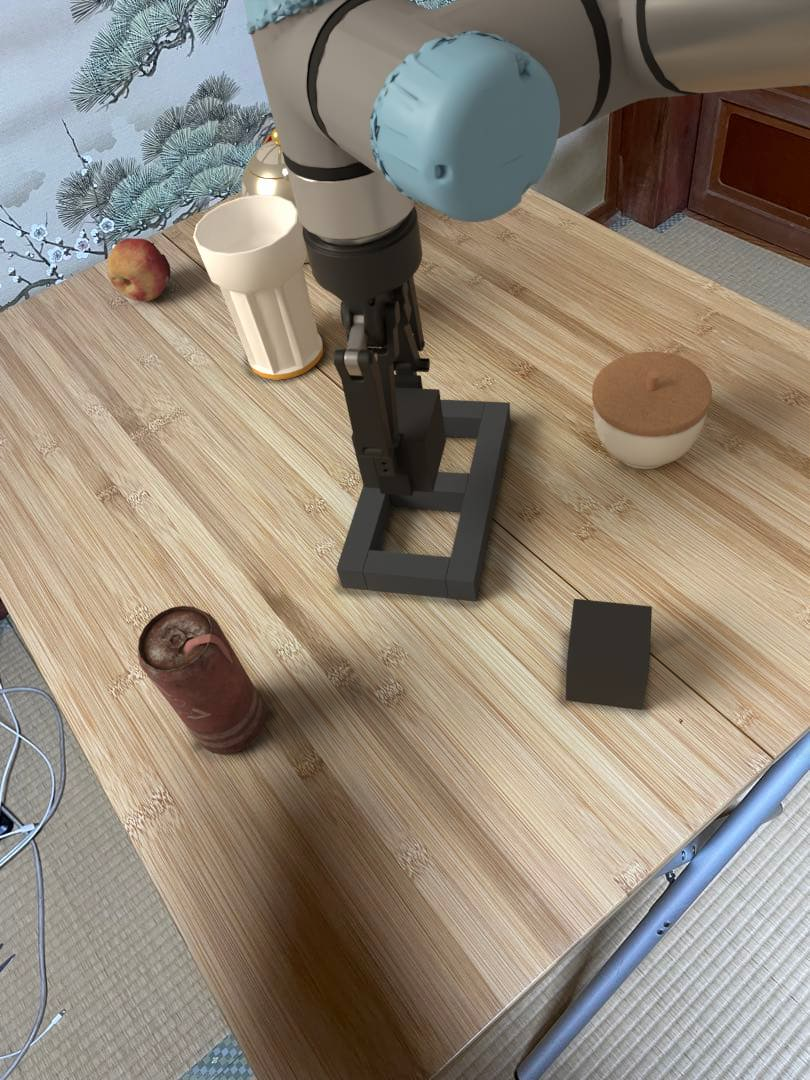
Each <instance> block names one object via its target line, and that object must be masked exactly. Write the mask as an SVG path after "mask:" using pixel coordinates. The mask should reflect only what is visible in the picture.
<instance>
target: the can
mask: <svg viewBox="0 0 810 1080" xmlns="http://www.w3.org/2000/svg"><path fill="white" fill-rule="evenodd" d="M220 626H221V625H220V624H219V623H218V621H217V620H216V619H215V618H214V616H212V615H211V613H208V612H206V611H204V610H202V609H199V608H197V607H195V606H190V605H178V606H172V607H169V608H168V609H165V610H163V611H161V612H159V613H158V614H157V615H155V616H153V617H152V618H150V620H149V621H148V622H147V624H146V625H145V626H144V627H143V629H142V631H141V633H140V636H139V637H138V642H137V643H138V644H137V650H138V651H137V658H138V662H139V666H140V668H141V669H142V671H144V673H145V674H146V675H147V677H148V678H149V680H150V681H151V682H152V683H153V685H154V686H155V687H156V689H157V690H158V691H159V692H160V694H161V695H162V697H164V699H165V700H166V702H167V703H168V704H169V705H170V707H171V708H172V709H173V711H174V712H175V713H176V714H177V716H178V717H179V718H180V719H181V721H182V722H183V723H184V725H185V726H186V727H187V728H188V730H189V731H190V732H191V734H192V735H193V736H194V737H195V739H196V740H197V741H198V743H199V744H200V745H201V747H202V748H203V749H204V750H206V751H208V752H210V753H212V754H215V755H221V756H226V755H232V754H233V755H234V754H236V753H238V752H240V751H243V750H245V749H247V748H248V747H249V746H251V745H252V744H253V743H254V742H255V741H256V740H257V739H258V737H259V736H260V735H261V733H262V732H263V730H264V726H265V724H266V720H267V708H266V706H265V703H264V701H263V699H262V697H261V695H260V693H259V692H258V690H257V689H256V687H255V685H254V683H253V682H252V679H251V678H250V676H249V674H248V673H247V671H246V669H245V667H244V666H243V664H242V662H241V661H240V659H239V657H238V655H237V654H236V652H235V650H234V648H233V647H232V645H231V644H230V642H229V640H228V639H227V636H226V635H225V633H224V631H223V630H222V628H221V627H220Z"/></svg>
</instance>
